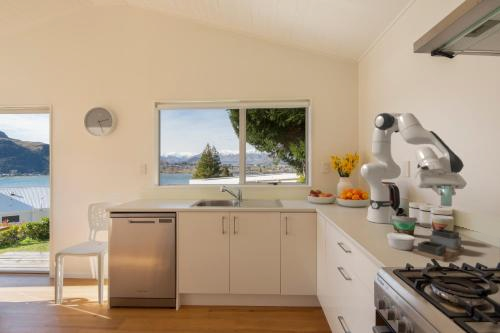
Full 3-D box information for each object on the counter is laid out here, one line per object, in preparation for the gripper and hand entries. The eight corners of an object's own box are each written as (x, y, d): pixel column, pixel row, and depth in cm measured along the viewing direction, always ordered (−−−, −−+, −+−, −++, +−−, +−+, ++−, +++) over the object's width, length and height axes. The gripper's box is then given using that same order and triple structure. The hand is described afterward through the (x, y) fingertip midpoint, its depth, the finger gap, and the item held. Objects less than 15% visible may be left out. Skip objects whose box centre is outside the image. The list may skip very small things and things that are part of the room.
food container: (393, 235, 137) (393, 216, 137) (391, 232, 143) (391, 214, 143) (420, 237, 133) (420, 218, 133) (416, 234, 139) (416, 216, 139)
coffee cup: (426, 238, 132) (427, 215, 132) (439, 236, 135) (440, 214, 134) (445, 244, 123) (445, 219, 123) (458, 242, 126) (459, 218, 126)
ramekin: (414, 245, 121) (414, 234, 120) (415, 253, 111) (415, 241, 111) (387, 241, 126) (387, 231, 126) (386, 248, 117) (386, 237, 116)
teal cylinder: (442, 204, 118) (443, 185, 118) (453, 205, 115) (453, 186, 115) (439, 205, 116) (439, 185, 116) (449, 206, 113) (450, 186, 113)
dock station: (435, 243, 123) (435, 227, 123) (463, 250, 114) (464, 232, 114) (412, 253, 110) (413, 234, 110) (442, 261, 101) (443, 241, 101)
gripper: (454, 176, 125) (468, 199, 116) (410, 176, 128) (420, 198, 118) (460, 167, 121) (476, 190, 111) (415, 167, 123) (426, 189, 114)
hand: (447, 194), depth 115 cm, fingers closed on teal cylinder, 4 cm apart
